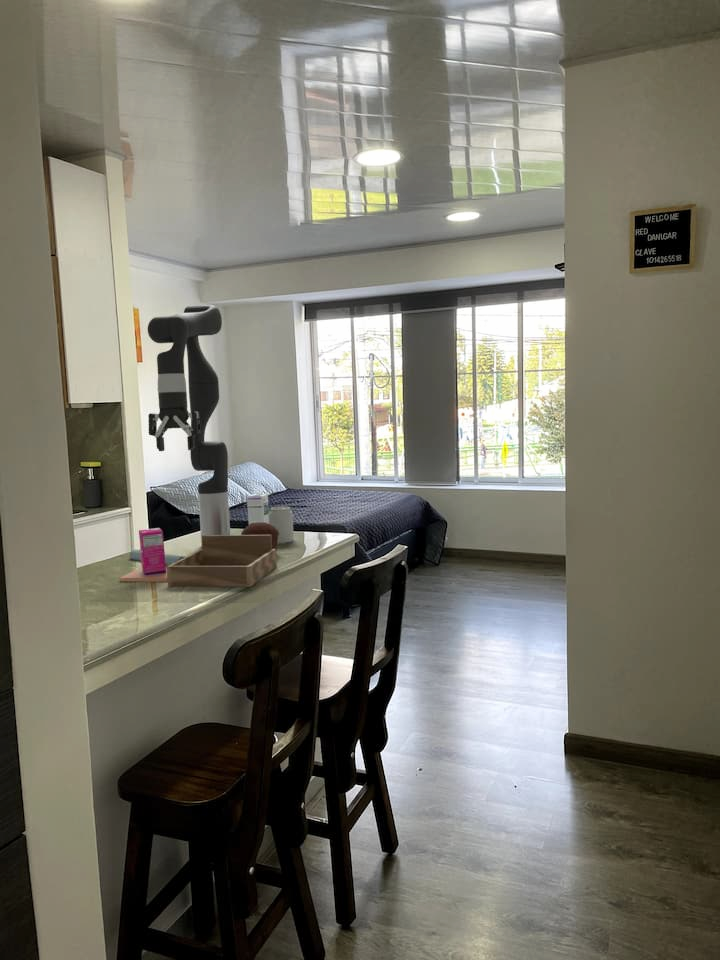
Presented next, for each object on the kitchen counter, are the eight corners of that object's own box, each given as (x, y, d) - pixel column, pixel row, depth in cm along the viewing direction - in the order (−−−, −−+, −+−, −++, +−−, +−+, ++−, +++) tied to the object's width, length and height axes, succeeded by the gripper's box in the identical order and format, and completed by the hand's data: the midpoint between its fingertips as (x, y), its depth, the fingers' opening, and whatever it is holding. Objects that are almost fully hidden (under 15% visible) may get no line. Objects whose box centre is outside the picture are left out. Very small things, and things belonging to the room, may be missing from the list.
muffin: (234, 560, 217) (232, 526, 216) (250, 552, 228) (248, 520, 227) (272, 561, 214) (270, 526, 213) (286, 553, 224) (285, 520, 223)
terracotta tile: (142, 570, 208) (142, 566, 208) (186, 570, 206) (186, 566, 205) (119, 581, 195) (119, 577, 195) (166, 581, 193) (166, 577, 193)
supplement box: (141, 571, 202) (138, 529, 201) (163, 568, 204) (161, 527, 203) (143, 575, 196) (140, 532, 195) (166, 572, 199) (164, 530, 198)
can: (273, 542, 243) (272, 505, 242) (296, 541, 242) (294, 505, 241) (267, 546, 236) (265, 509, 235) (290, 546, 235) (289, 508, 234)
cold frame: (201, 566, 209) (199, 535, 209) (276, 566, 205) (275, 534, 205) (167, 586, 188) (165, 550, 187) (251, 586, 184) (249, 550, 183)
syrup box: (265, 538, 252) (263, 495, 250) (248, 538, 253) (246, 495, 251) (270, 535, 257) (268, 493, 256) (254, 535, 258) (252, 493, 257)
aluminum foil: (187, 567, 212) (186, 555, 211) (168, 572, 206) (167, 559, 206) (139, 559, 226) (138, 548, 225) (120, 563, 220) (119, 552, 220)
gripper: (202, 390, 205) (205, 449, 206) (154, 392, 207) (157, 450, 209) (191, 389, 197) (195, 450, 199) (141, 392, 200) (145, 452, 202)
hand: (176, 450), depth 204 cm, fingers open, 8 cm apart
